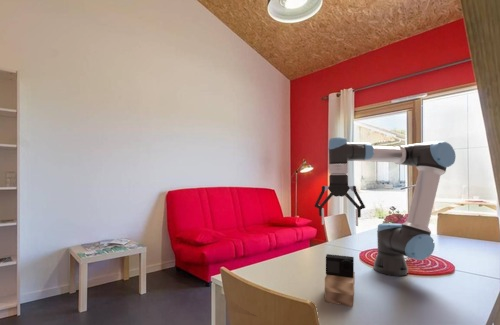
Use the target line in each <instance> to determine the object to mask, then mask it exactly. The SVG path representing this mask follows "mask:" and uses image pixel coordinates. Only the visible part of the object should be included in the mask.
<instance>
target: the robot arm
mask: <svg viewBox="0 0 500 325" xmlns="http://www.w3.org/2000/svg"><path fill="white" fill-rule="evenodd" d="M327 149H328V172H329V176H328V177H329V182H328V183H329V186H327V185H322V186H321V192H320V193H319V195H318V197H317V200H316V202H315V204H314V208H317V209H318V216H319V217H321V225H322V226H323V225H325V208H323V207H324V206H325V205H326V204H327V203H328V202H329V200H330V199H331V198H332V197H333V196H334V197H341V198H342V197H346V198H347V200H349V201H350V202H351V204H352V205H354V207H355V208H356V209H355V208H354V209H355V211H354V212H355V226H356V227H359V218H361V217H362V214H361V211H362V209H365V208H366V205H365V204H364V202H363V200H362V198H361V197H360V194H359V193H358V191H357V190H358V189H357V186H356V185H352V186H350V185H349V175H348V172H349V171H348V170H349V169H348V168H349V167H348V163H349V162H376V163H378V162H379V163H394V164H395V165H403V166H408V167H409V166H411V167H415V168H416V169H417V171H418V174H417V177H416V181H415V186H414V190H413V195H412V199H411V201H410V202H411V203H410V206H409V211H408V215H407V218H406V220H405V222H402V223H391V222H389V223H387V222H386V223H380V224H378V225H377V231H376V232H377V234H376V235H377V253H376V257H375V260H374V262H373V270H374V271H376V272H378V273H380V274H385V275H388V276H397V277H398V276H400V277H402V276H406V275H408V274H409V267H408V265H407V261H406V259H405V256H406V257H408V258H410V259H413V260H416V261H424V260H426V259H427V258H429V257H431V255H432V254H433V252H434V250H435V242H434V238H433V237H431V234H432V231H431V230H430V228H429V224H430V219H431V215H432V214H433V213H432V212H433V209H434V204H435V200H436V196H437V191H438V187H439V183H440V178H441V176H442V175H444V174H446V172H447V168H449V167H451V166H453V165H454V164H455V161H456V152H455V149H454V147H453V146H452V145H451V144H450V143H449V142H448V141H443V140H441V141H439V140H434V141H426V142H417V143H411V144H406V145H402V144H401V145H398V144H397V145H395V146H377V145H375V146H374V145H373V144H372V143H370V142H361V141H360V142H348V139H347V137H339V136H338V137H331V138H329V140H328V148H327ZM327 190H329V192H330V193H329V194H328V195H327V197H326V198H325V199H324V200H323V201H322V203H321V204H320V202H321V200H322V198H323V196H324V194H325V192H327ZM349 191H351V192H353V194H354V195H355V197H356V199H357V200H358V203H359V204H360V205H359V204H358V203H357V201H355V200H354V199H353V198H352V196H351V195H350V194H349V193H348V192H349ZM407 273H408V274H407Z"/></svg>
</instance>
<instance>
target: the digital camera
mask: <svg viewBox="0 0 500 325" xmlns="http://www.w3.org/2000/svg"><path fill="white" fill-rule="evenodd" d="M354 260H355V259H354V256H349V255H348V256H347V255H338V254H329V253H326V255H325V275H334V276H342V277H350V278H354V272H355V271H354V266H355V265H354V264H355V263H354Z"/></svg>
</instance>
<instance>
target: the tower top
mask: <svg viewBox="0 0 500 325" xmlns="http://www.w3.org/2000/svg"><path fill="white" fill-rule="evenodd" d="M355 277H356V275H355V271H354V278H350V277H342V276H334V275H327V274H325V276H324V292H325V291H330V292H336V293H342V294H348V295H353V291H354V292H355V279H356V278H355Z"/></svg>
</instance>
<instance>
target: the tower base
mask: <svg viewBox="0 0 500 325" xmlns="http://www.w3.org/2000/svg"><path fill="white" fill-rule="evenodd" d="M324 302H326V303H331V304H336V305H343V306H348V307H354V302H355V290H354V291H353V295H348V294H342V293H336V292H330V291H325V290H324Z"/></svg>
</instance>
